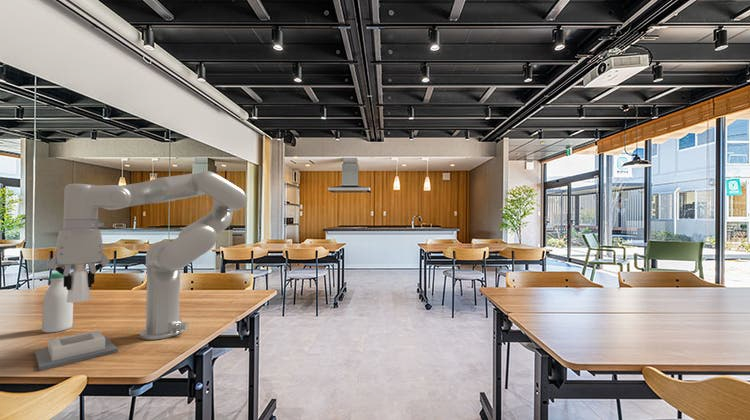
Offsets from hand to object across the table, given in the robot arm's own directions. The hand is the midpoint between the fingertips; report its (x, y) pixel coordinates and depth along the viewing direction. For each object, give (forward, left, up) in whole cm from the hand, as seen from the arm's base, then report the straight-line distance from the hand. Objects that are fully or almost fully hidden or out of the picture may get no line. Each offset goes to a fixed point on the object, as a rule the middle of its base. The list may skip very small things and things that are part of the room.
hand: (79, 287), depth 95 cm
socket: (0, 0, -19) cm, 19 cm away
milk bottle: (+26, -19, -19) cm, 38 cm away
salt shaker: (0, 0, -4) cm, 4 cm away
